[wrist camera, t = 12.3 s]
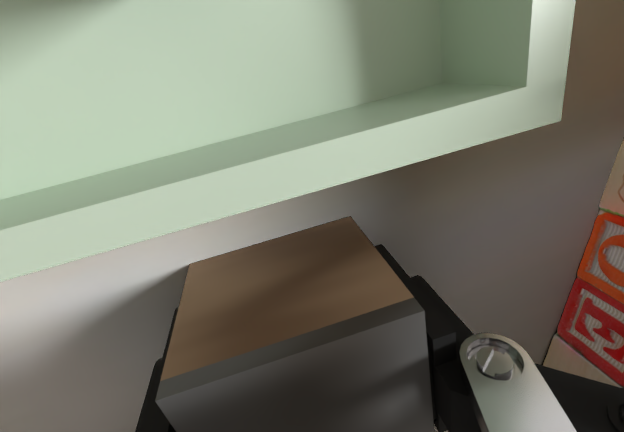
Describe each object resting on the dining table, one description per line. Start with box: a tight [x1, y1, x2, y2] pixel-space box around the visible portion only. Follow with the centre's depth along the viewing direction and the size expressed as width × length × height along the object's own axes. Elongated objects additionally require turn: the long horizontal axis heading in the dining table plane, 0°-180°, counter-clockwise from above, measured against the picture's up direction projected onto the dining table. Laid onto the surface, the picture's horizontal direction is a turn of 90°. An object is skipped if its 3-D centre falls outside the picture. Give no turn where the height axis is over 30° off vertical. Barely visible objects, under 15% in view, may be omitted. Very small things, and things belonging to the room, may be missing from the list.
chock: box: [155, 216, 434, 432], centre depth 9 cm, size 5×5×4 cm
